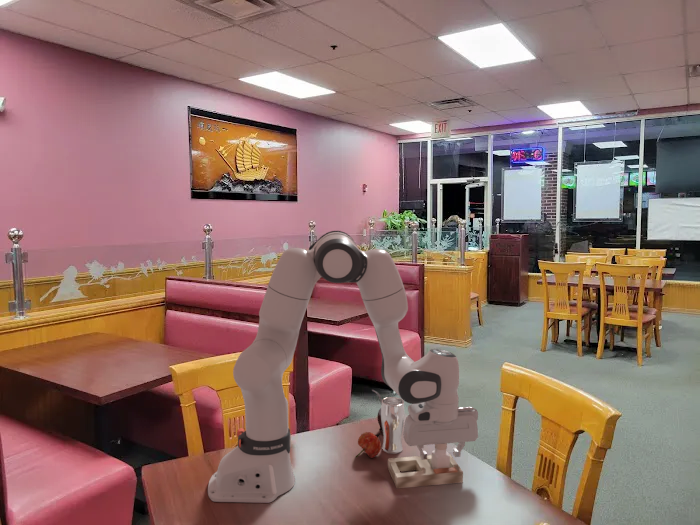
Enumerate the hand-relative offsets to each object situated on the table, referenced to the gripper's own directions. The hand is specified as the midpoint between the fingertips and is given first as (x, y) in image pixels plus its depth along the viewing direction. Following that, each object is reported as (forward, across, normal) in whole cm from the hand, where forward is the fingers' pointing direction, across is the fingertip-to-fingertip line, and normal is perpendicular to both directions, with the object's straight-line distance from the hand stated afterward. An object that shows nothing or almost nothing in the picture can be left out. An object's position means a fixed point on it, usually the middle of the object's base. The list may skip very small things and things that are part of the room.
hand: (440, 457), depth 141 cm
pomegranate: (+5, +17, -13) cm, 22 cm away
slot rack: (+5, +4, 0) cm, 7 cm away
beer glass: (+5, +9, -16) cm, 19 cm away
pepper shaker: (+5, 0, 0) cm, 5 cm away
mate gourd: (+5, +8, -27) cm, 29 cm away
